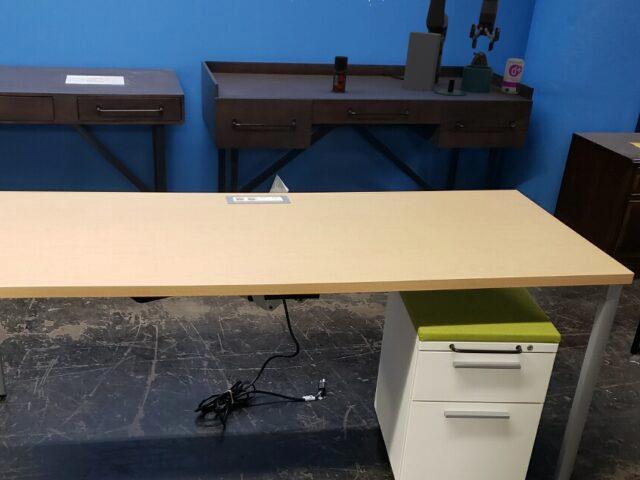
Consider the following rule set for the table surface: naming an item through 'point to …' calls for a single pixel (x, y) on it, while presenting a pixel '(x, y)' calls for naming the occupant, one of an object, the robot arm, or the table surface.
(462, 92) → the tin lid
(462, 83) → the tin
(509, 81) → the supplement can
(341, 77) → the deodorant
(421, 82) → the cassette tape recorder
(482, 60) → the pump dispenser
